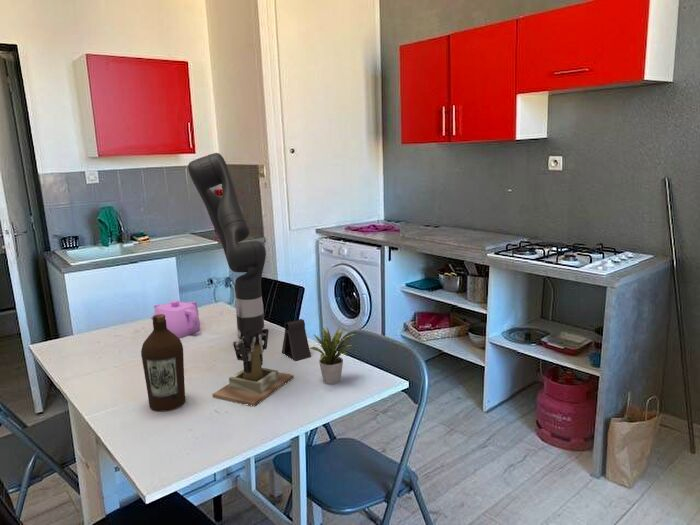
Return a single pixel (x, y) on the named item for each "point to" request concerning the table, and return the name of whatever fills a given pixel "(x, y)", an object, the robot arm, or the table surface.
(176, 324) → the teakettle
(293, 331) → the phone stand
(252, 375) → the cork
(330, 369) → the house plant
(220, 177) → the robot arm
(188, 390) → the table surface
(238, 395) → the socket board
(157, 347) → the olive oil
